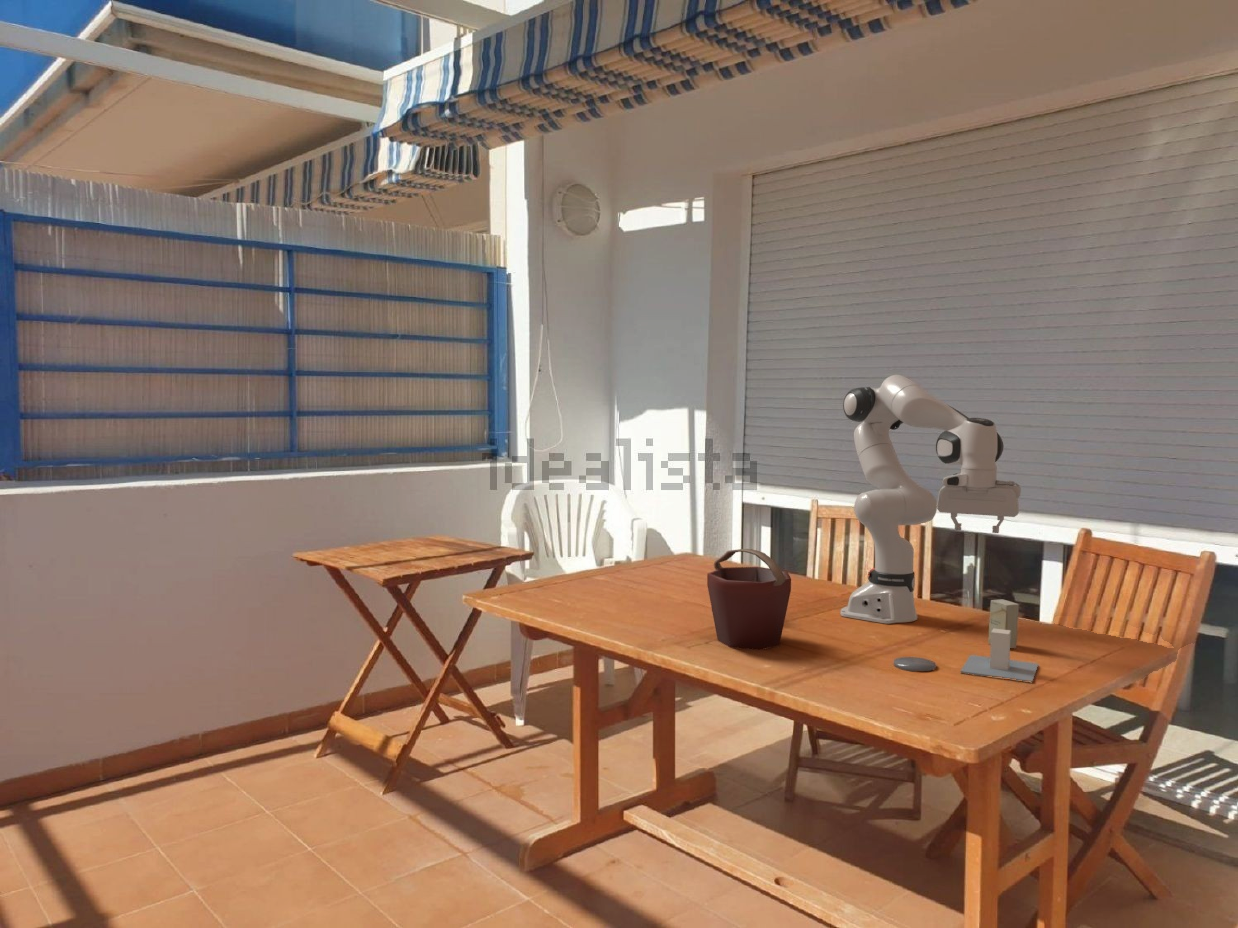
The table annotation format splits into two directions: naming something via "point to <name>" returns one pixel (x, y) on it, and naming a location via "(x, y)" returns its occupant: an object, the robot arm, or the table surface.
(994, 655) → the block
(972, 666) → the tile
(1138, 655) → the table surface
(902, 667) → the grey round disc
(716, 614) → the bucket
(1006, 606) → the skincare box
